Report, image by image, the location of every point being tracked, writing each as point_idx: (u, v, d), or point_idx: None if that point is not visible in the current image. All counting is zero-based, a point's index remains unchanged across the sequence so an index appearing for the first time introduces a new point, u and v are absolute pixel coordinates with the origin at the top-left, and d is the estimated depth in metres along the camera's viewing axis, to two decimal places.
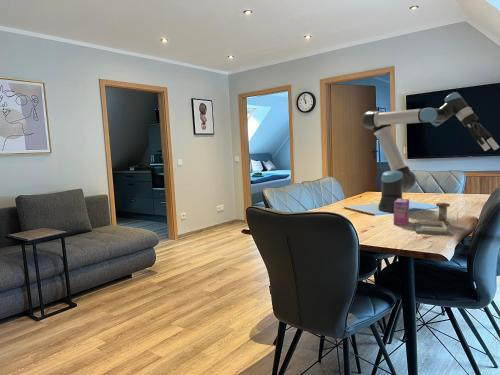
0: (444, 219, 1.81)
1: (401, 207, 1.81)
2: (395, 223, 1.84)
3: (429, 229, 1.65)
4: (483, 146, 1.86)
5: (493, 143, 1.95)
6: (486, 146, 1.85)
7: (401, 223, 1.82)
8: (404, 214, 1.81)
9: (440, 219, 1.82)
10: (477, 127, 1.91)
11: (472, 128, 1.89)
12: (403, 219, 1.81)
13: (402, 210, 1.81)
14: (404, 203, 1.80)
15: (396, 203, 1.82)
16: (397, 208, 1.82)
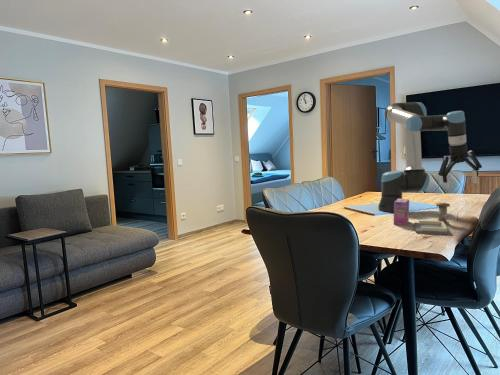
0: (444, 219, 1.81)
1: (401, 207, 1.81)
2: (395, 223, 1.84)
3: (429, 229, 1.65)
4: (445, 183, 1.82)
5: (474, 177, 1.80)
6: (447, 185, 1.81)
7: (401, 223, 1.82)
8: (404, 214, 1.81)
9: (440, 219, 1.82)
10: (453, 162, 1.77)
11: (444, 163, 1.78)
12: (403, 219, 1.81)
13: (402, 210, 1.81)
14: (404, 203, 1.80)
15: (396, 203, 1.82)
16: (397, 208, 1.82)
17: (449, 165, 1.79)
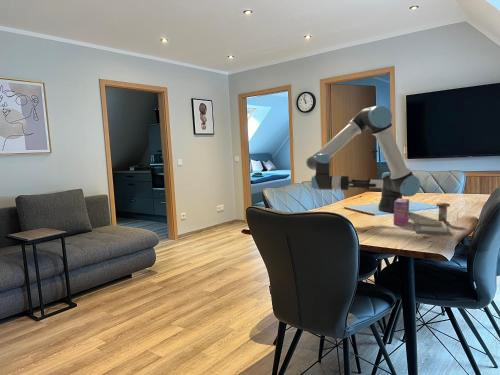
0: (444, 219, 1.81)
1: (401, 207, 1.81)
2: (395, 223, 1.84)
3: (429, 229, 1.65)
4: None
5: None
6: None
7: (401, 223, 1.82)
8: (404, 214, 1.81)
9: (440, 219, 1.82)
10: None
11: None
12: (403, 219, 1.81)
13: (402, 210, 1.81)
14: (404, 203, 1.80)
15: (396, 203, 1.82)
16: (397, 208, 1.82)
17: None
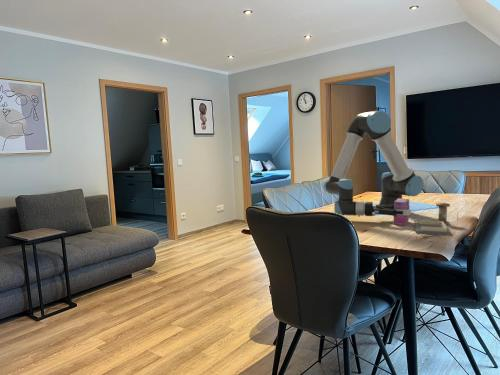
0: (444, 219, 1.81)
1: (401, 206, 1.81)
2: (395, 223, 1.84)
3: (429, 229, 1.65)
4: None
5: None
6: None
7: (401, 223, 1.82)
8: None
9: (440, 219, 1.82)
10: None
11: None
12: (403, 219, 1.81)
13: None
14: (404, 203, 1.80)
15: (396, 203, 1.82)
16: (397, 208, 1.82)
17: None
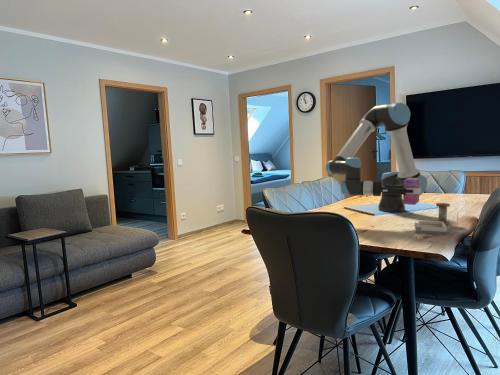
0: (444, 219, 1.81)
1: (411, 185, 1.72)
2: (404, 202, 1.75)
3: (429, 229, 1.65)
4: None
5: None
6: None
7: (411, 202, 1.73)
8: None
9: (440, 219, 1.82)
10: None
11: None
12: (413, 198, 1.73)
13: None
14: (414, 181, 1.71)
15: (406, 181, 1.74)
16: (407, 187, 1.74)
17: None
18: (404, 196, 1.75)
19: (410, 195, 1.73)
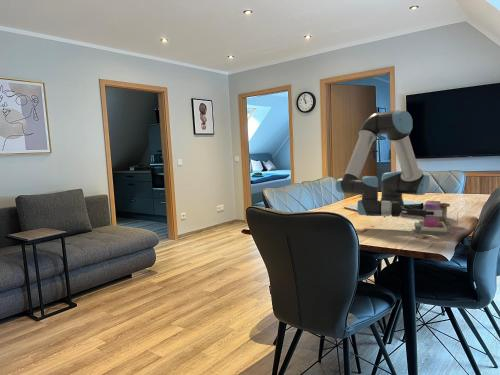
0: (444, 219, 1.81)
1: (432, 209, 1.65)
2: None
3: (429, 229, 1.65)
4: None
5: None
6: None
7: None
8: (436, 218, 1.65)
9: (440, 219, 1.82)
10: None
11: None
12: (435, 223, 1.65)
13: None
14: (436, 206, 1.64)
15: (427, 206, 1.66)
16: None
17: None
18: (425, 221, 1.67)
19: (432, 220, 1.66)
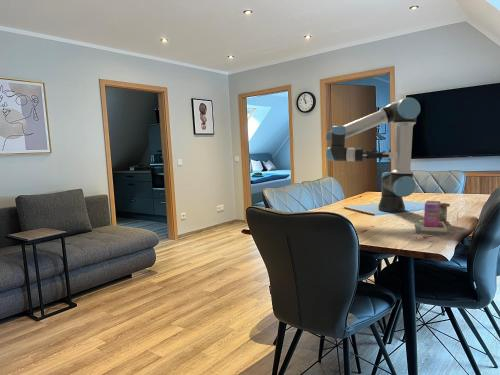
0: (444, 219, 1.81)
1: (432, 209, 1.65)
2: None
3: (429, 229, 1.65)
4: None
5: None
6: None
7: None
8: (436, 218, 1.65)
9: (440, 219, 1.82)
10: None
11: None
12: (435, 223, 1.65)
13: (433, 214, 1.65)
14: (436, 206, 1.64)
15: (427, 206, 1.66)
16: (428, 211, 1.66)
17: None
18: (425, 221, 1.67)
19: (432, 220, 1.66)
